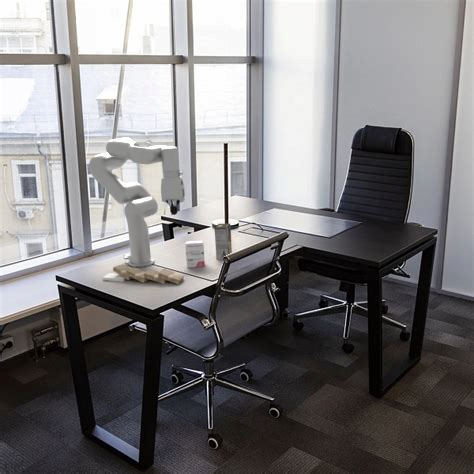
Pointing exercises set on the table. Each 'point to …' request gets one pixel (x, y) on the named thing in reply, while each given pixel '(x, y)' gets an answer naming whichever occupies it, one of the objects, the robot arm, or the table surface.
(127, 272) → the domino
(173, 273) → the domino
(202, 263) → the ink box
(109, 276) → the cream domino
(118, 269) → the domino
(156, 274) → the domino
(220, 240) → the coffee box
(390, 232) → the table surface
